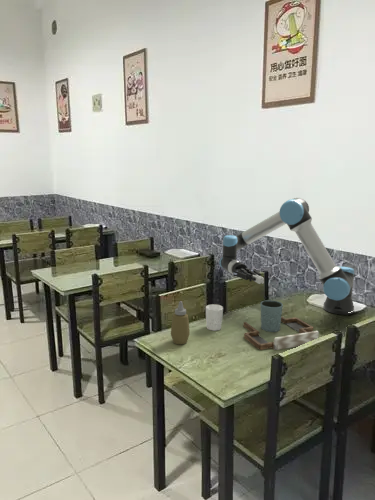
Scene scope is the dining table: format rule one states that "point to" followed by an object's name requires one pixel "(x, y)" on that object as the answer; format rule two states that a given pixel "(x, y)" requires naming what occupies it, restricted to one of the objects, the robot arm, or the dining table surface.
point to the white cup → (214, 317)
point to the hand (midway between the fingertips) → (261, 281)
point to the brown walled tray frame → (283, 341)
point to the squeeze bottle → (180, 325)
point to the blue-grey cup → (271, 315)
